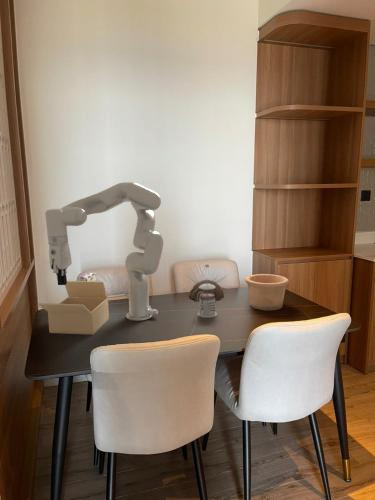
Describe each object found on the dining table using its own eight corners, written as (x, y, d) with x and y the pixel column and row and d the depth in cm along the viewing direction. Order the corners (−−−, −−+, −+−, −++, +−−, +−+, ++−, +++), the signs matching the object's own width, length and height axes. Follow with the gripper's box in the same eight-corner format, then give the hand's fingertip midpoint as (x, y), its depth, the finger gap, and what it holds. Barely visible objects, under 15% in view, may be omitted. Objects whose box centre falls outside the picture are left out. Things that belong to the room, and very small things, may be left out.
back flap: (107, 298, 181) (107, 297, 181) (103, 282, 175) (103, 281, 176) (68, 297, 183) (69, 296, 184) (63, 281, 178) (64, 280, 178)
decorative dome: (230, 295, 218) (230, 278, 217) (211, 304, 203) (211, 286, 201) (202, 290, 230) (202, 274, 228) (182, 298, 214) (182, 281, 212)
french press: (221, 313, 187) (221, 264, 183) (206, 319, 179) (205, 268, 174) (206, 309, 194) (205, 261, 189) (190, 315, 185) (190, 265, 181)
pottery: (281, 314, 184) (281, 286, 182) (238, 308, 195) (238, 281, 192) (292, 302, 203) (293, 276, 200) (253, 297, 213) (253, 272, 211)
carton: (109, 318, 183) (107, 298, 181) (93, 334, 163) (92, 312, 161) (69, 317, 185) (68, 297, 184) (49, 332, 166) (47, 310, 164)
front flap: (82, 304, 153) (82, 305, 152) (91, 312, 161) (90, 313, 161) (37, 303, 155) (37, 304, 155) (48, 310, 164) (48, 311, 164)
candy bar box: (89, 301, 210) (87, 272, 208) (98, 301, 209) (96, 272, 207) (80, 307, 200) (78, 277, 197) (88, 308, 199) (87, 277, 196)
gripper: (58, 243, 144) (62, 290, 147) (74, 237, 158) (78, 279, 162) (39, 243, 145) (44, 289, 148) (57, 237, 159) (62, 279, 163)
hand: (62, 284), depth 155 cm, fingers closed
